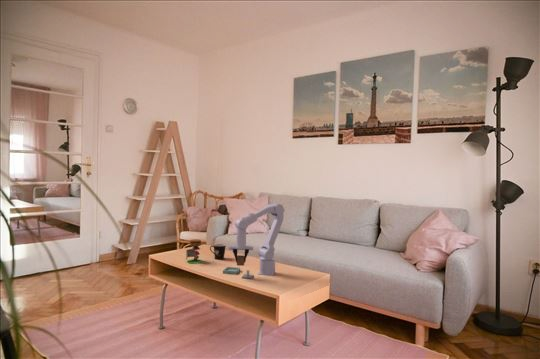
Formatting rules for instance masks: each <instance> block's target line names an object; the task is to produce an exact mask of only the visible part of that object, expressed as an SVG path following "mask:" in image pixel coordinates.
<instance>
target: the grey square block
mask: <svg viewBox="0 0 540 359" xmlns="http://www.w3.org/2000/svg"><path fill="white" fill-rule="evenodd" d="M254 277H255V275H254V274H250V269H249V270H248V269H247V270H246V273H244V274H243V275H242V276H241V279H244V280H245V279H246V280H253V278H254Z"/></svg>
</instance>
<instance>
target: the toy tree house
mask: <svg viewBox="0 0 540 359" xmlns="http://www.w3.org/2000/svg"><path fill="white" fill-rule="evenodd" d="M201 245H202V240H201V239H190V240H189V246H190V247H191V248H189V249H186V250H185V260H186V262H187V263H188V264H190V265H191V264H194V265H196V264H197V263H198V264H201V263H203V262H204V260H203V259H199V258H200V256H199V255H200V252H199V250H201V248H200V247H201ZM188 258H192V259H189V260H188ZM198 264H197V265H198Z"/></svg>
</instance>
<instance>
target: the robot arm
mask: <svg viewBox="0 0 540 359" xmlns="http://www.w3.org/2000/svg"><path fill="white" fill-rule="evenodd" d="M284 212H285V208H284V206H283V204H282V203H281V204H280V203H274V202H271V203H269V204H267V205H266V206H264V207H262V208H261V209H259V210H258V211H256V212H255V213H254V212H249V213H248V214H247V215H245V216H242V217H241V218H238V219H237V220H236V221H235V223H234V225H235V227H236V239H235V241H236V243H235V244H236V245H229V246H228V250H229V251H231V250H232V253H233V256H234V257H235V258H234V259H235V262H236V263H237V256H238V250H239V251H244V256H245V258H244V263H246V260H247V258H248V254H249V253H250V251H254V246H251V245H247V229H248V227H249V226H250V225H252V224H254V223H256V222H257V221H258V219H259V218H261V217H262V216H265V215H267V214H271V216H272V217H273V222H272V224H271V227H270V230H269V232H268V235H267V237H266V240H265V242H264V243H263V244H261V247H260V248H259V249H258V251H257V253H258V256H259V272H258V273H257V275H262V276H274V274H275V273H276V260H275V259H273V258H274V255H275V249H276V248H275V247H274V246H275V242H276V240H277V237H278V235H279V232H280V230H281V228H282V227H281V226H282V224H283V222H284Z"/></svg>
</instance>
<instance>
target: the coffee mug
mask: <svg viewBox="0 0 540 359" xmlns="http://www.w3.org/2000/svg"><path fill="white" fill-rule="evenodd" d="M212 248H213V250H212ZM209 250H210V252H211V253H213V255H214V260H218V261H219V260H220V261H221V260H224V259H225V254H226V244H224V243H216V244H213V245H210V247H209Z"/></svg>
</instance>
